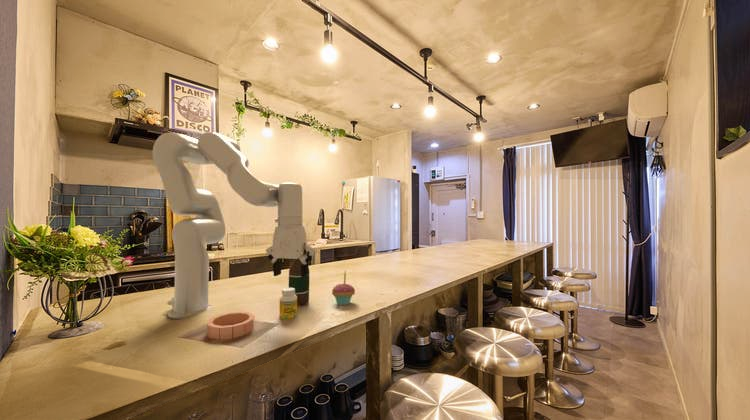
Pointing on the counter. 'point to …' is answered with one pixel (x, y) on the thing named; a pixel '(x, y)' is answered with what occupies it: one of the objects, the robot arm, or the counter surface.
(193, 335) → the grey flat pad
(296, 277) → the beer bottle
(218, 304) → the counter surface
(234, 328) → the terracotta holder
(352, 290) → the cupcake
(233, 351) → the counter surface
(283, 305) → the supplement bottle
